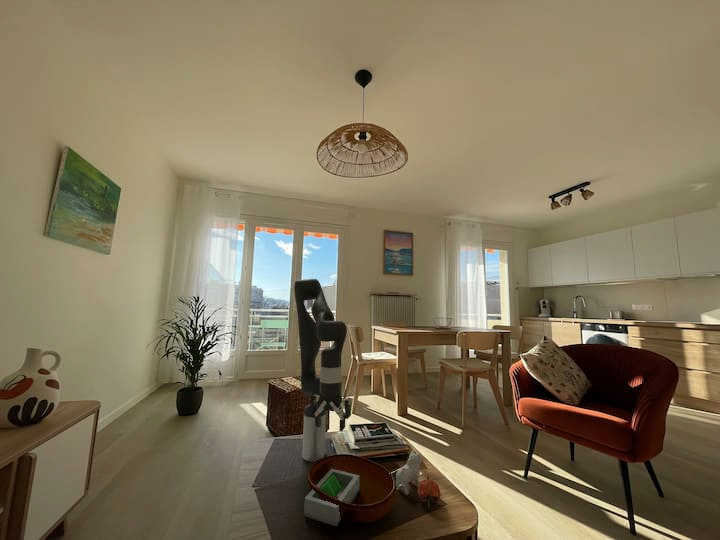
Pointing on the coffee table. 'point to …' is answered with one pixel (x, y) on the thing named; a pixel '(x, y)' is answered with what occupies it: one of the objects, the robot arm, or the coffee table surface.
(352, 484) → the bin
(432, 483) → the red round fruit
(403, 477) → the dog figurine
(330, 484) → the pipe clamp
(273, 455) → the coffee table surface
